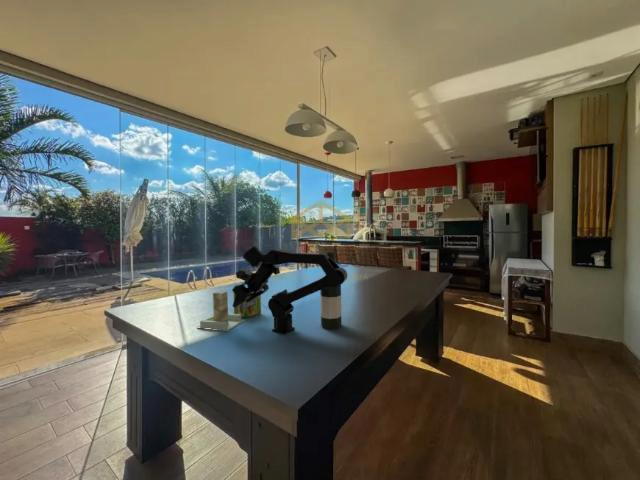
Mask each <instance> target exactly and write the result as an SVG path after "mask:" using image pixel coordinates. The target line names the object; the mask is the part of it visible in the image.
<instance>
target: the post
mask: <svg viewBox="0 0 640 480" xmlns="http://www.w3.org/2000/svg"><path fill="white" fill-rule="evenodd" d="M212 297H213V299H212V301H213V302H212V304H213V307H212V308H213V315H214V321H219V322H227V323H228V314H229V308H228V307H229V306H228V305H229V303H228V302H229V301H228V291H227V290H226V291H225V290H218V291H215V292H212Z"/></svg>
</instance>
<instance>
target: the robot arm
mask: <svg viewBox="0 0 640 480" xmlns="http://www.w3.org/2000/svg"><path fill="white" fill-rule="evenodd" d="M242 259H243V260H244V261H245V262H247V263H248V264H249V266H251V267H252V268H253V269H254V268H257V269H256V271H255V272H253V271H250V270H248V269H246V268H242V269H239V270H237V272H235V276H236V278H237V279H240V280H242V281H244V282H243V283H245V284H246V285H245V286H244V285H243V284H242V283H241V284H238V285H234V286H233V287H232V290H231V291H232V292H233V294H234V293H235V299H234V298H233V303H232V308H233V309H234V308H235V307H237V306H238V305H240V304H242V303H243V302H245V301H246V302H249V301H251V300H252V299H254V298H256V297H258V296H260V295H264V294H265V293H266V292H268V290H269V288H270V287H269V285H268V283H269V279H270V278H271V276H272V275H273V274H274V275H276V276H277V275H279V274H281V272H280V271H281V270H280V267H279V266H278V265H284V264H290V263H292V264H305V265H306V264H309V265H319V266H320V268H321V270H322V271H323V273H324V274H325V275H326V276H325V275H324V276H323V277H321V278H318V279H317V280H315V281H312V282H310V283H308V284H305V285H303V286H301V287H299V288H297V289H294V290H292V291H288V290H287V288H286V289H283V290H282V291H278V292H277V293H275V294H273V295H272V296H271V298H269V300H268V303H267V307H268V309H269V310H270V312H271V314H272V317H273V329H271V332H274V333H278V334H283V335H286V334H288V333H289V332H291V331H293V330H295V326H293V314H292V313H293V311H294V308H295V306H294V305H293V304H292V303H294V302H296V301H299V300H300V299H302V298H306V297H308V296H310V295H312V294H315V293H318V292H320V290H321V289H324V288H331V287H335V286H339V285H341V286H342V285H343V284H344V282H346V281H347V279H348V271H347V270H346V269H345V268H343V267H340V265H339V264H338V263H337V262H335V260H334V261H333V260H332V259H331V258H330V257H329V256H328V255H327V254H326V253H324V252H322V253H309V252H306V253H305V252H293V251H289V250H287V249H282V248H277V249H271V250H269V251H268V253H263V252H262V251H261V250H260V249H259V248H258V247H257V246H256V245H253V246H252V247H251V248H249V249H248V250H247V251H245V252H244V254H243V255H242Z"/></svg>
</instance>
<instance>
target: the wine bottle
mask: <svg viewBox="0 0 640 480" xmlns="http://www.w3.org/2000/svg"><path fill="white" fill-rule="evenodd" d="M325 254H327V255H328V256H329V257H330V258H331V259H332V260H333V261H334V262H335V252H334V251H333V250H327V251H326V253H325ZM324 276H326V274H325V275H324ZM319 292H320V293H319V294H320V325H321V328H322V329H325V330H338V329H340V328H341V327H342V284H341V285H339V286H335V287H331V288H324V289H321V290H319Z"/></svg>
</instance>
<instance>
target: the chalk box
mask: <svg viewBox="0 0 640 480" xmlns="http://www.w3.org/2000/svg"><path fill="white" fill-rule="evenodd" d="M241 284H243V285H244V286H245V287H246V286H247V285H246V284H245V283H244V282H242V283H241ZM234 299H235V293H234V292H233V300H234ZM261 299H262V296H261V295H260V296H258V297H256V298H254V299H252V300H251V301H249V302H246V301H245V302H243V303H242V304H240V305H238V306H237V307H235V308H234V307H233V314H241V318H245V319H248V318H250V317H253V316H257V315H260V313H261V314H262V305H261V303H262V300H261Z"/></svg>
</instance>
